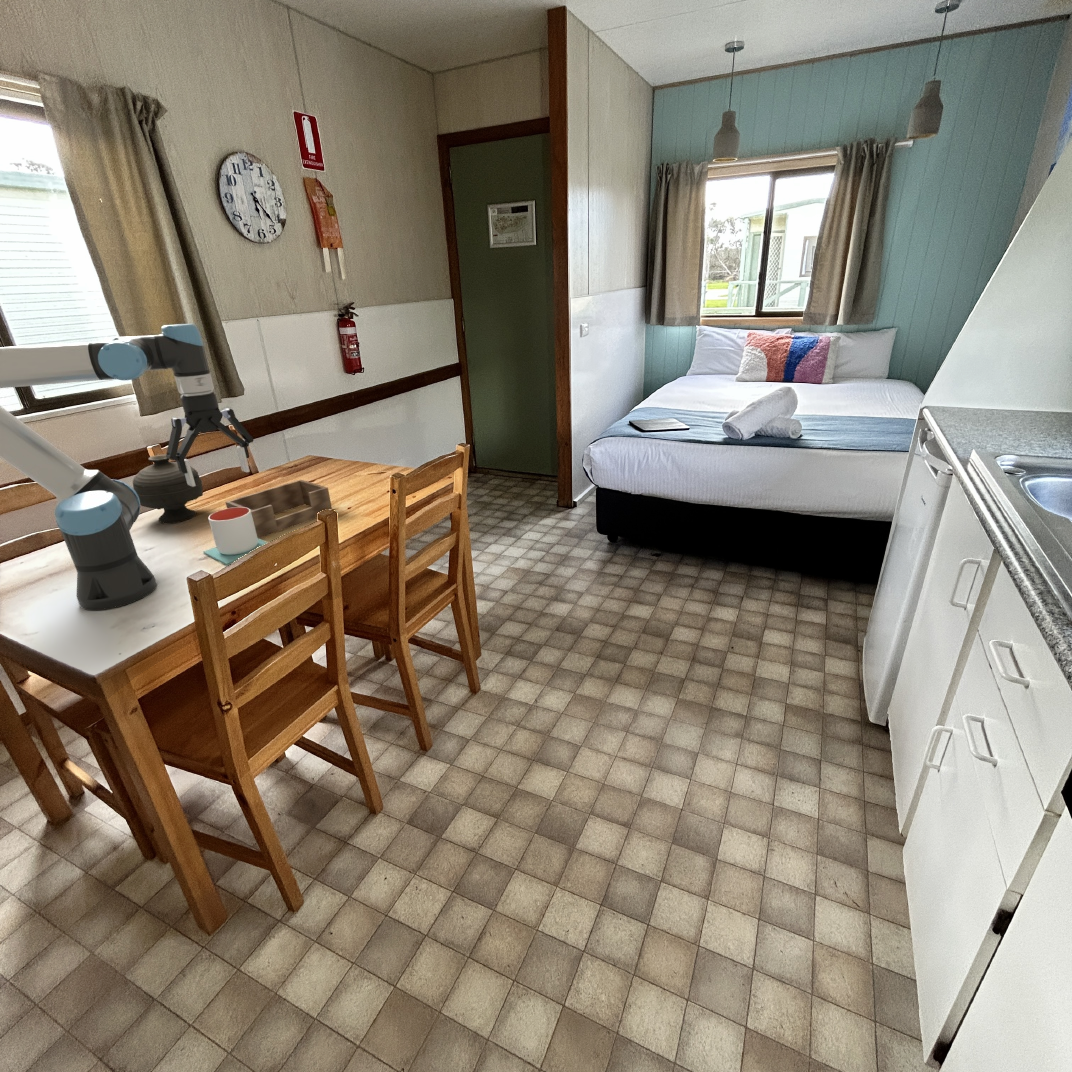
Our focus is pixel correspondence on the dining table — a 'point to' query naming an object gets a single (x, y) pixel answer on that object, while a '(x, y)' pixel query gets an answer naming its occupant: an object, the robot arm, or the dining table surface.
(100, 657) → the dining table surface
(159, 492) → the pot
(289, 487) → the crate
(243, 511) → the cup
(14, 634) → the dining table surface
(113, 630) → the dining table surface
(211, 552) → the mat
